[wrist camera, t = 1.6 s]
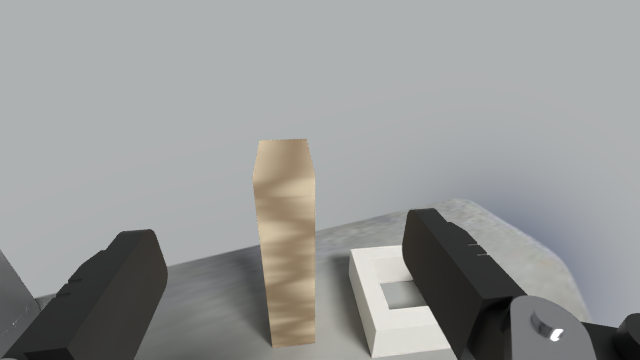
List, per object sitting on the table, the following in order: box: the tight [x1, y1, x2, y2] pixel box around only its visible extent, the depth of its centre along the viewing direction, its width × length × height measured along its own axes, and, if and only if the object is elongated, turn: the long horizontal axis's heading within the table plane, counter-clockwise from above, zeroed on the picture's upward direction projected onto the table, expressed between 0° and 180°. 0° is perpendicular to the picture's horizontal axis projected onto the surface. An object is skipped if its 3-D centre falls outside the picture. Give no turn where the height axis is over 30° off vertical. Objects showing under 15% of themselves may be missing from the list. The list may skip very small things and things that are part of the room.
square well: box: [349, 245, 451, 358], centre depth 29 cm, size 10×10×4 cm
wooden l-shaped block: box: [253, 139, 315, 348], centre depth 25 cm, size 4×7×18 cm, turn 7°
